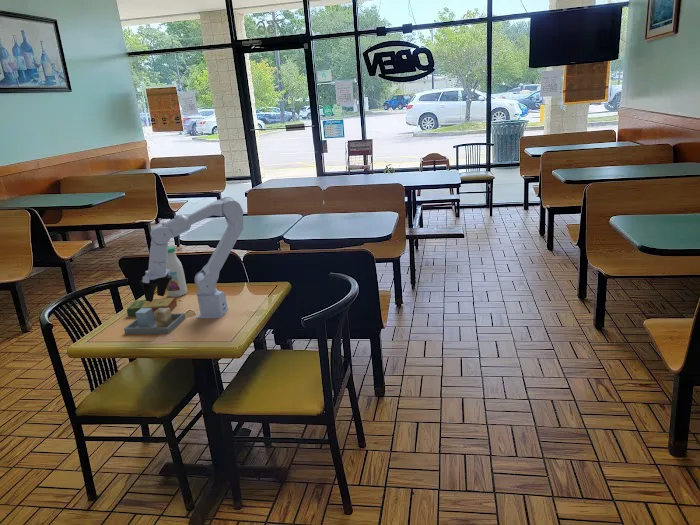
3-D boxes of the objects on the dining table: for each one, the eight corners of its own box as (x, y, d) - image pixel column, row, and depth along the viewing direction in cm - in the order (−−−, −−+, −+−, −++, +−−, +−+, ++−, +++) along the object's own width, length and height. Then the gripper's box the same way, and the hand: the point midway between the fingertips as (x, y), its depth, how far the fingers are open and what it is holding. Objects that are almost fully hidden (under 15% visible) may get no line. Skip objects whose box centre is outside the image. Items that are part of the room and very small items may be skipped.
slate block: (155, 323, 186) (151, 308, 184) (149, 328, 182) (145, 312, 180) (144, 323, 186) (141, 308, 185) (138, 328, 183) (135, 312, 181)
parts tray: (185, 319, 188) (184, 313, 187) (169, 335, 176) (167, 328, 176) (144, 319, 191) (143, 313, 190) (125, 335, 179) (123, 328, 179)
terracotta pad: (180, 335, 175) (180, 334, 175) (170, 345, 169) (169, 343, 169) (161, 335, 177) (161, 334, 176) (150, 345, 170) (150, 343, 170)
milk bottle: (179, 289, 220) (171, 244, 214) (191, 292, 215) (182, 246, 209) (164, 296, 214) (154, 249, 208) (175, 298, 209) (166, 251, 203)
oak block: (173, 323, 184) (169, 307, 183) (167, 328, 181) (164, 312, 179) (162, 323, 185) (159, 307, 183) (157, 328, 181) (153, 312, 180)
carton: (170, 315, 194) (167, 305, 192) (128, 318, 195) (125, 308, 193) (177, 307, 202) (175, 296, 200) (137, 309, 202) (134, 299, 201)
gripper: (158, 254, 186) (155, 291, 189) (135, 262, 172) (132, 301, 174) (176, 258, 185) (173, 295, 188) (155, 266, 171) (151, 305, 173)
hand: (155, 298), depth 181 cm, fingers open, 7 cm apart
